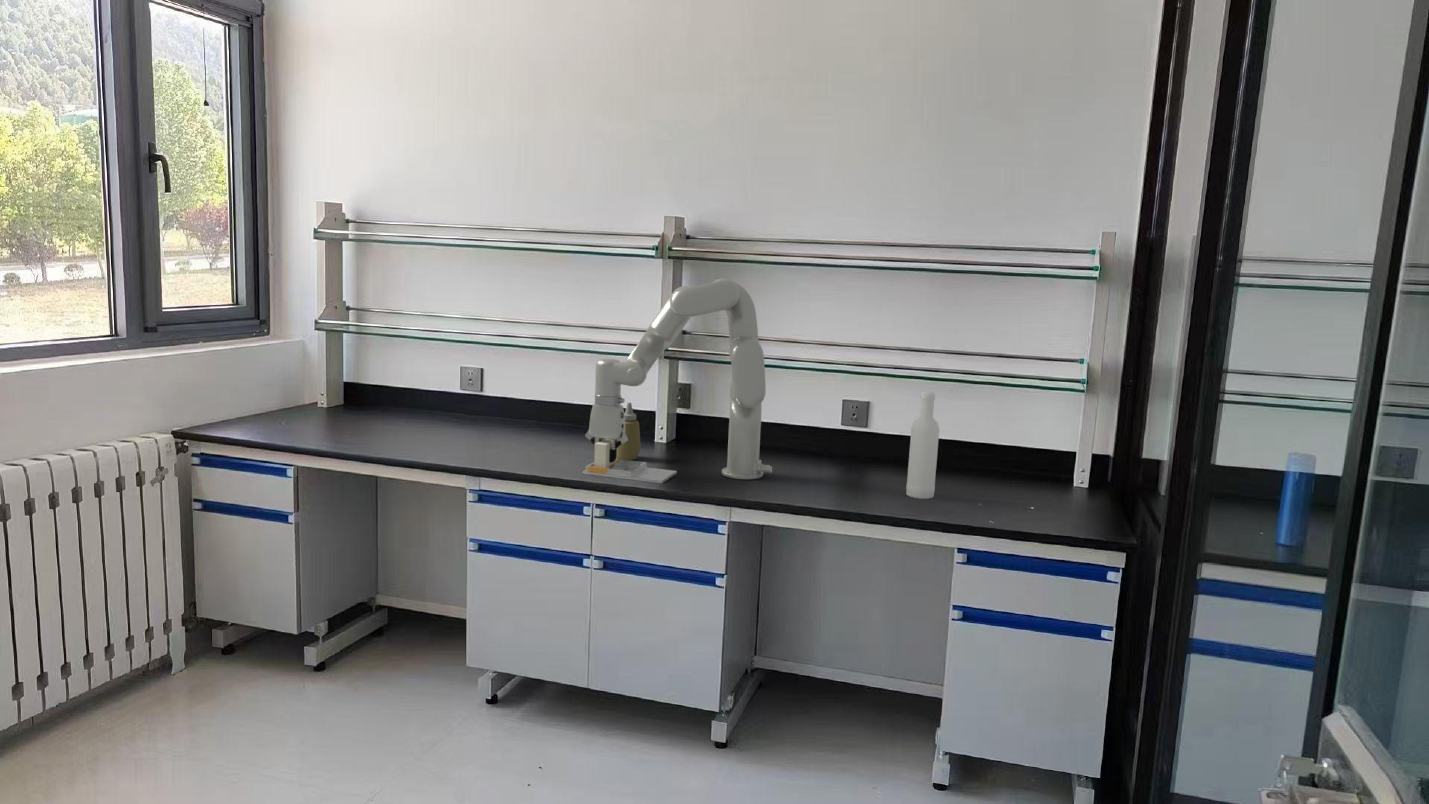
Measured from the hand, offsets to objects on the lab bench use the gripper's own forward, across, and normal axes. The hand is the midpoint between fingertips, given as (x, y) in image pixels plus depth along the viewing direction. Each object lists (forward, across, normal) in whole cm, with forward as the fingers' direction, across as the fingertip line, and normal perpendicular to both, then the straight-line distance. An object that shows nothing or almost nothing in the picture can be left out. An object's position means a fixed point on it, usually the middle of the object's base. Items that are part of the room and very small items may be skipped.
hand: (605, 460), depth 287 cm
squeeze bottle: (+3, 0, -18) cm, 18 cm away
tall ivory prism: (+1, 0, 0) cm, 1 cm away
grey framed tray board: (+3, -8, 0) cm, 9 cm away
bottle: (+3, -92, -14) cm, 93 cm away
